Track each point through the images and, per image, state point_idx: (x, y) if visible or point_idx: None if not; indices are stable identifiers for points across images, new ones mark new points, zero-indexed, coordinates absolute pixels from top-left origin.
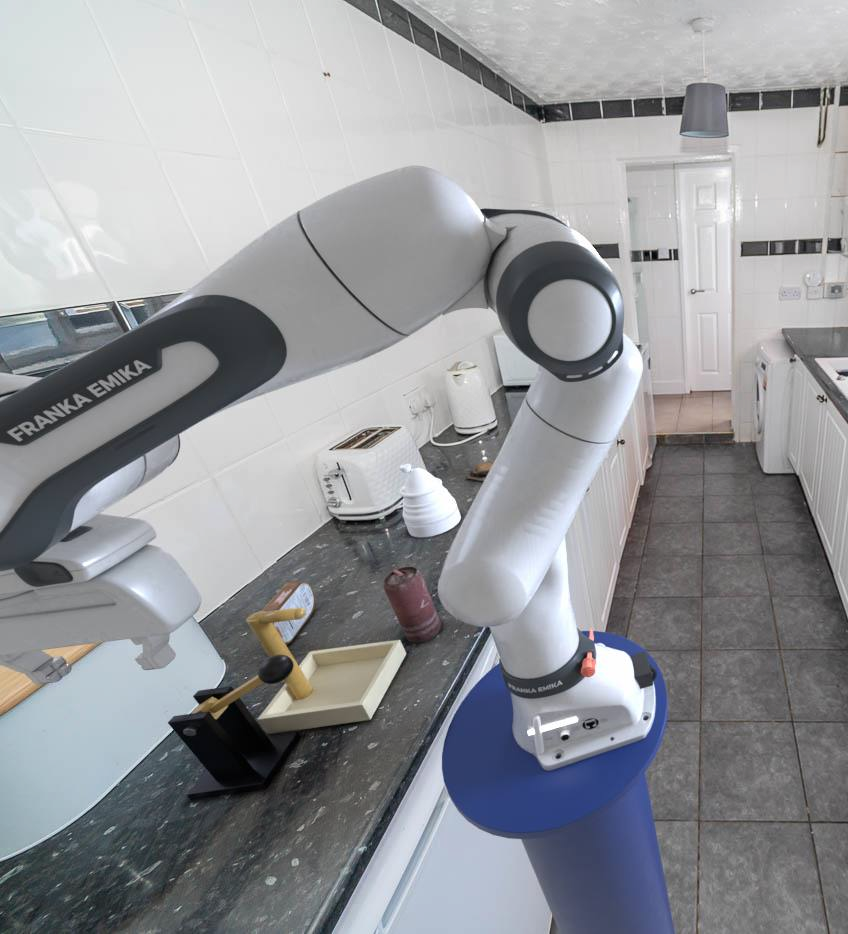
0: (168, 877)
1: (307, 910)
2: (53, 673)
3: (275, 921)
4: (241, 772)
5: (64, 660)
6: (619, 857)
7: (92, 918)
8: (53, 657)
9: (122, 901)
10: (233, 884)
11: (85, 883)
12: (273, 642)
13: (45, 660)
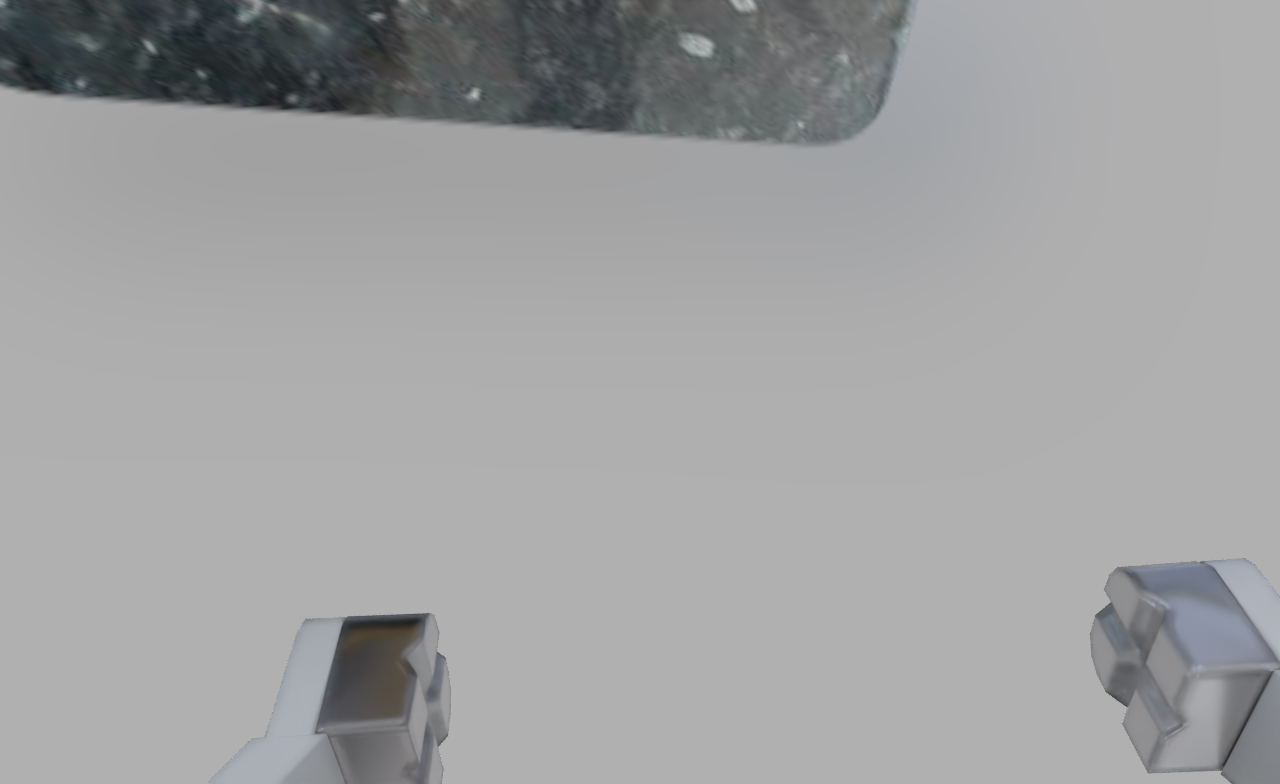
0: (359, 11)
1: (845, 124)
2: (432, 725)
3: (773, 142)
4: None
5: (409, 686)
6: None
7: (238, 99)
8: (341, 736)
9: (280, 64)
10: (588, 47)
11: (91, 5)
12: None
13: (336, 778)
